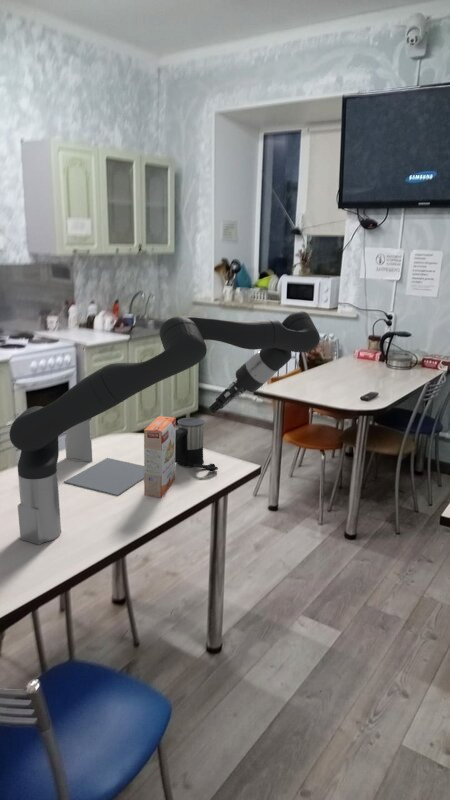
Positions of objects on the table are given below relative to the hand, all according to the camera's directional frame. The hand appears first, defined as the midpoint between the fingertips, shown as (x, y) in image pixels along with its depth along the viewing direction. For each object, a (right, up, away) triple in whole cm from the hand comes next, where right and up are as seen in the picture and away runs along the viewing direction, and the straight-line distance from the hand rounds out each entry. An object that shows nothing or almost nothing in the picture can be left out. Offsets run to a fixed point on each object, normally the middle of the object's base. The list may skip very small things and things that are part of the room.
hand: (215, 408), depth 158 cm
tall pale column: (-47, -18, +35) cm, 61 cm away
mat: (-33, -22, +22) cm, 46 cm away
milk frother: (-7, -20, +32) cm, 38 cm away
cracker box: (-17, -25, +15) cm, 34 cm away
